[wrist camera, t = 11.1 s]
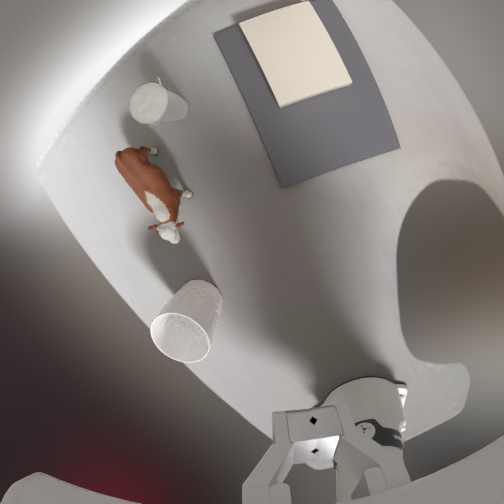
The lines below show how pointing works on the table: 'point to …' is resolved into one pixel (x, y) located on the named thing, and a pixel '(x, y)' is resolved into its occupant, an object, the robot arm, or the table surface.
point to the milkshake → (156, 104)
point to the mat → (314, 108)
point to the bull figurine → (152, 189)
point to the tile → (295, 53)
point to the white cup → (188, 322)
